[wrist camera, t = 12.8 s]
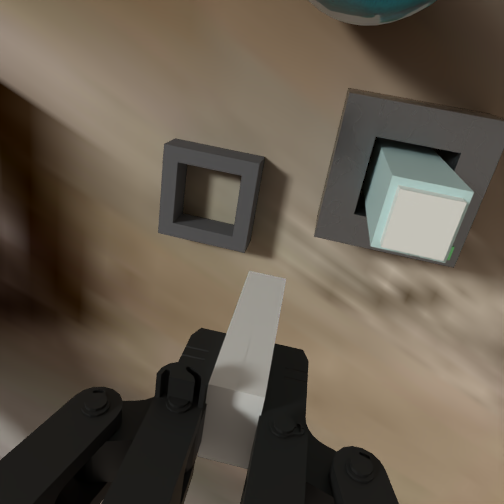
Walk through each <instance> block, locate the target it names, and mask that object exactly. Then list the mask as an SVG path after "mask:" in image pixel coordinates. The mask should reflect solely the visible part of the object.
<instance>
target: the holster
mask: <svg viewBox="0 0 504 504" xmlns="http://www.w3.org/2000/svg"><path fill="white" fill-rule="evenodd" d="M264 159H265V157H263V156H258V155H253V154H248V153H243V152H238V151H234V150H229V149H224V148H219V147H214V146H209V145H204V144H199V143H195V142H190V141H185V140H180V139H174V140H171V141H169V142H167V143H165V144H164V154H163V169H162V183H161V198H160V213H159V228H158V233H161V234H165V235H170V236H174V237H178V238H182V239H187V240H191V241H195V242H200V243H204V244H208V245H213V246H217V247H221V248H226V249H230V250H234V251H239V252H243V253H245V251H246V249H247V247H248V245H249V243H250V240H251V234H252V228H253V223H254V217H255V211H256V205H257V199H258V194H259V188H260V182H261V176H262V171H263V165H264ZM187 164H188V165H193V166H198V167H202V168H207V169H212V170H217V171H221V172H226V173H231V174H236V175H240V176H242V178H241V184H240V191H239V197H238V204H237V211H236V217H235V224H234V225H232V224H228V223H223V222H219V221H215V220H210V219H206V218H201V217H197V216H192V215H188V214H183V204H184V193H185V183H186V172H187Z"/></svg>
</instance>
